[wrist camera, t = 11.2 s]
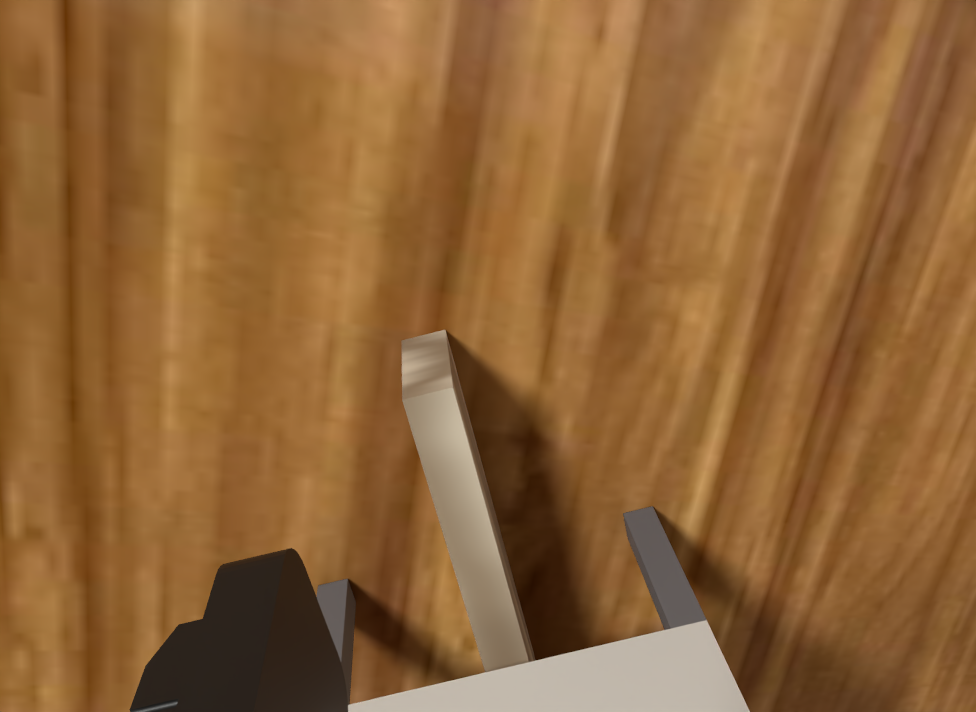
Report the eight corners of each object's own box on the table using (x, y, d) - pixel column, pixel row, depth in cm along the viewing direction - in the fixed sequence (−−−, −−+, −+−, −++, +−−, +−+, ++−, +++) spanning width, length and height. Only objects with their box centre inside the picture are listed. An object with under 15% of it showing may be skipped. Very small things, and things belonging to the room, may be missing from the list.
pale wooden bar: (500, 315, 40) (516, 371, 35) (594, 703, 50) (619, 795, 44) (347, 354, 40) (339, 415, 35) (470, 734, 50) (479, 829, 44)
